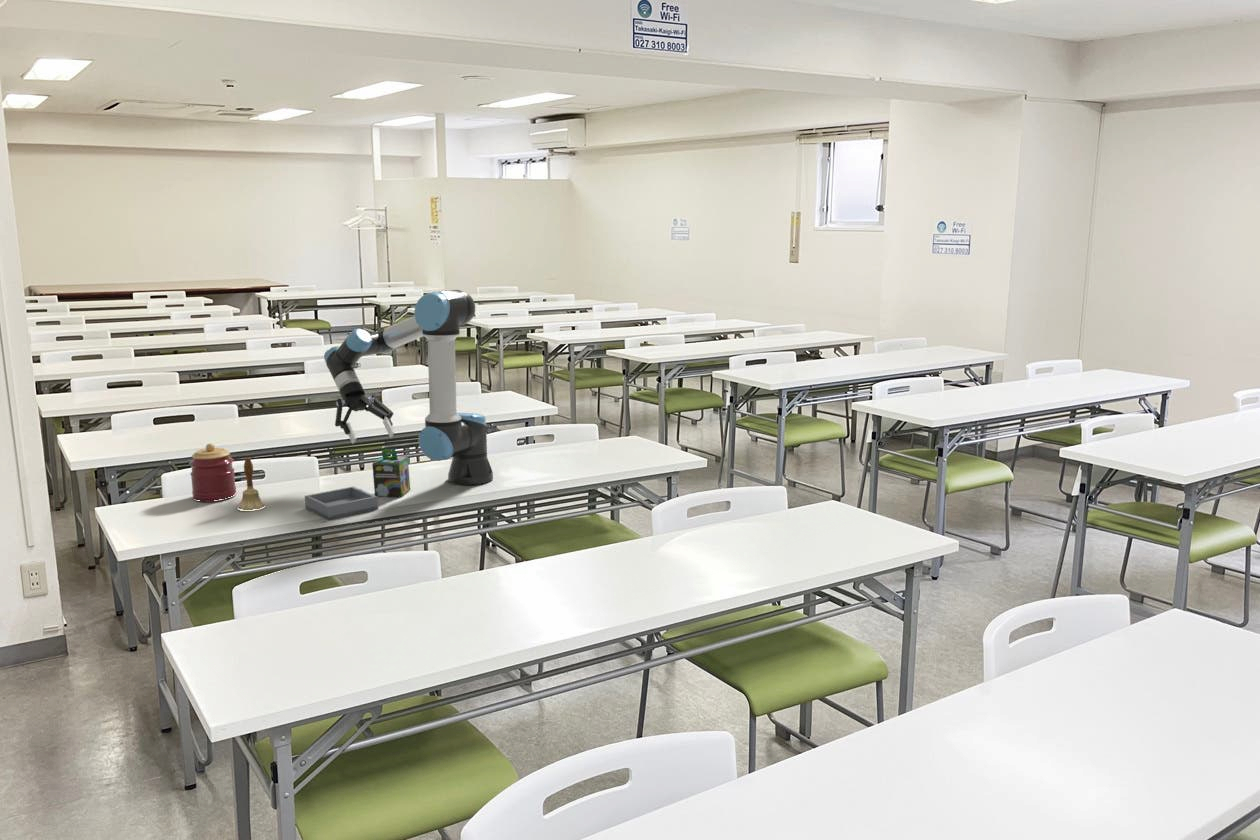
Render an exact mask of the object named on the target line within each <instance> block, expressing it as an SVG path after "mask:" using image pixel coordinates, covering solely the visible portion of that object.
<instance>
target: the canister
mask: <svg viewBox="0 0 1260 840" xmlns="http://www.w3.org/2000/svg"><path fill="white" fill-rule="evenodd" d="M230 454H231V452H230V451H228V450H226V449H225V448H224V447H223V448H222V447H216V446H215V445H214V443H207V444H206V446H205V448H202V449H199V450H197V451H195V453H193V454H192V455H191V458H192V460H191V461H190V462H189V464H188V465H189V466H190V467H191V472H190V474H189V475H190V477H191V487H192V489H191V490H192V491H191V493H192V494H191V495H192V499H193V500H194V499H196V500H200V501H214V500H219V499H225V498H228V497H231V496H233V495H234V494H235V493H236V494H237V487H236V481H235V468H234V467H233V462H234V458H233V457H231V456H230Z"/></svg>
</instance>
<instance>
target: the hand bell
mask: <svg viewBox="0 0 1260 840" xmlns="http://www.w3.org/2000/svg"><path fill="white" fill-rule="evenodd" d="M243 471H244V474H245V476H246V489H245V490H243V491H242V497H241V502H240V504H239V505H238V506H237V508H239V509H243V510H253V509H260V508H262V507H264V506H265V505H266V504H265V503H264V502H263V501H262V500H261V497H260V494H259V490H258V489H256V488H255V487H254V484H253V473H254V464H253V463H252V460H251V457H245V460H244V464H243Z"/></svg>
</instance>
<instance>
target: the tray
mask: <svg viewBox="0 0 1260 840" xmlns="http://www.w3.org/2000/svg"><path fill="white" fill-rule="evenodd" d="M378 500H379V498H378V496H375V494H373V493H370V492H367V491H366V490H362V489H360V488H358V487H355V486H348V487H344V488H338V489H337V488H336V489H333V490H328V491H323V492H319V493H318V492H317V493H312V494H308V495H304V502H305V505H304V506H305V509H306V510H308V511H310V512H312V513H314V514H316V515H318V516H320V517H322V518H324V519H325V520H328V521H329V520H335V519H338V518H339V519H340V518H344V517H347V516H349V517H350V516H354V515H359V514H362V513H367V512H371V511H377V510H379V502H378Z"/></svg>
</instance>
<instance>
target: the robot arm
mask: <svg viewBox="0 0 1260 840" xmlns="http://www.w3.org/2000/svg"><path fill="white" fill-rule="evenodd" d="M413 312H414V315H413V316H410V317H409V318H406V319H404V320H401V321H399V322H397V323H394V324H391V325H389V326H387V327H385V328H382V329H380V330H378V331H375V332H374V331H372V332H368V331H367V330H366V329H361V328H355V329H353V330H352V331H351V332H350V333H349V334H348V335H347V336H346V338H345V339H344V341H342V343H341V344H340V345H339V346H332V347H330V349H327V350H326V351H325V353H323V354H324V355H323V359H324V361H325V365H326V367H327V369H328V370H329V372H330V374H331V377H332V378H333V379H332V380H333V382H334V383H335V385H336V388H337V389H338V390H337V391H338V392H339V394H340V396H341V398H337V400H336V402H335V407H336V414H335V422H334V426H335V427H340V429H342V430H343V432H344V434H345V435H348V438H349V440H350V442H351V443H352V444H353V445H354V444H355V442H357V435H356V433H355V431H354V430H353V427H352V424H351V423H350V422H348V419H349V418H350V416H351V414H352V411H354V412H359V411H360V412H361V411H366V412H370V413H371V414H373V415H374V416H376V417H378V418H379V419H381V420H383V421H382V423H383V426H384V428H385V430H386V432H387V434H388V436H389V438H393V436H394V435H395V430H394V429H393V428H394V427H393V422H392V420H391V419H392V417H393V416H394V411H392V410H391V409H390V408H389V407H388V406H386V405H385V404H384V403H383V402H382V401H381V400H380V399H378V398H377V395H376V394H374V393H373V394H372V395H371V396H367V395H366V393H365V390H364V388H363V384H361V381H360V379H359V377H358V376H357V373H356V370H355V368H354V366H355V365H356V363H357V362H358V361H360V359H361V358H363V357H367V356H372V355H379V354H386V353H390V352H392V351H394V350H396V349H397V347H398V348H399V347H401V346H403V345H405V344H408V343H410V342H413V341H416V340H418V339H421V338H423V337H424V338H426V340H427V361H428V363H427V364H428V365H427V366H428V368H427V369H428V397H429V398H428V401H429V414H428V415H426V417H425V418H424V425H425V426H424V428H422V430H421V431H420V432H419V434H418V446H419V448H420V450H421V452H422V454H424V455H425V457H427V458H428V459H430V460H432V461H435V462H436V461H437V462H440V461H446V460H449V459H451V458H452V459H451V461H450V462H451V464H450V466H449V471H448V474H447V480H448V483H450V482H451V484H452V483H454V485H457V484H460V485H459V486H473V485H472V484H477V485H482V484H481V483H483V484H487V483H489V481H490V482H491V480H492V479H494V474H493V473H494V472H493V469H492V466H491V464H490V462H489V459H488V440H487V438H488V437H487V427H488V425H487V422H486V421H487V419H486V417H485V415H484V414H481V413H474V412H472V413H471V412H458V411H457V378H456V377H457V376H456V375H457V371H456V370H457V369H456V367H457V366H456V339H457V338H458V337H459V336H460V326H464V325H466V324H468V323H469V322H471V321H472V319H473V318H474V316H475V313H476V304H475V300H474V299H473V297H472V296H471V295H470V294H469V293H467V292H466V291H464V290H460V289H451V290H445V291H443V290H441V291H432V292H428V293H425V294H423V295H422V296H421V297H420V298H419V299H418V300H417V302H416V304H415V306H414V311H413ZM344 406H346V407H347V408H348V409H347V411H346V413H345V415H344V418H343V420H342V414H343V407H344ZM492 481H493V480H492ZM486 482H487V483H486Z"/></svg>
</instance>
